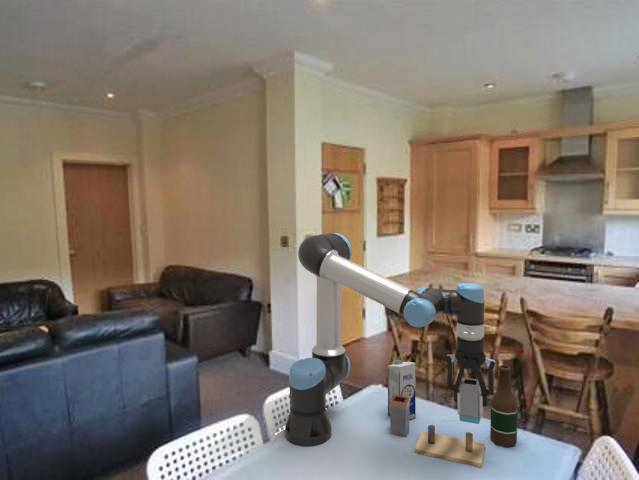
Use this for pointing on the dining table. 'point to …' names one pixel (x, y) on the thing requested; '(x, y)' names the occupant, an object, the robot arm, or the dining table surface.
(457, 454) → the pin board
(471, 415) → the grey rectangular box
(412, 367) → the milk carton
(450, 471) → the dining table surface
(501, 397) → the beer bottle
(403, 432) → the sleeve rust
